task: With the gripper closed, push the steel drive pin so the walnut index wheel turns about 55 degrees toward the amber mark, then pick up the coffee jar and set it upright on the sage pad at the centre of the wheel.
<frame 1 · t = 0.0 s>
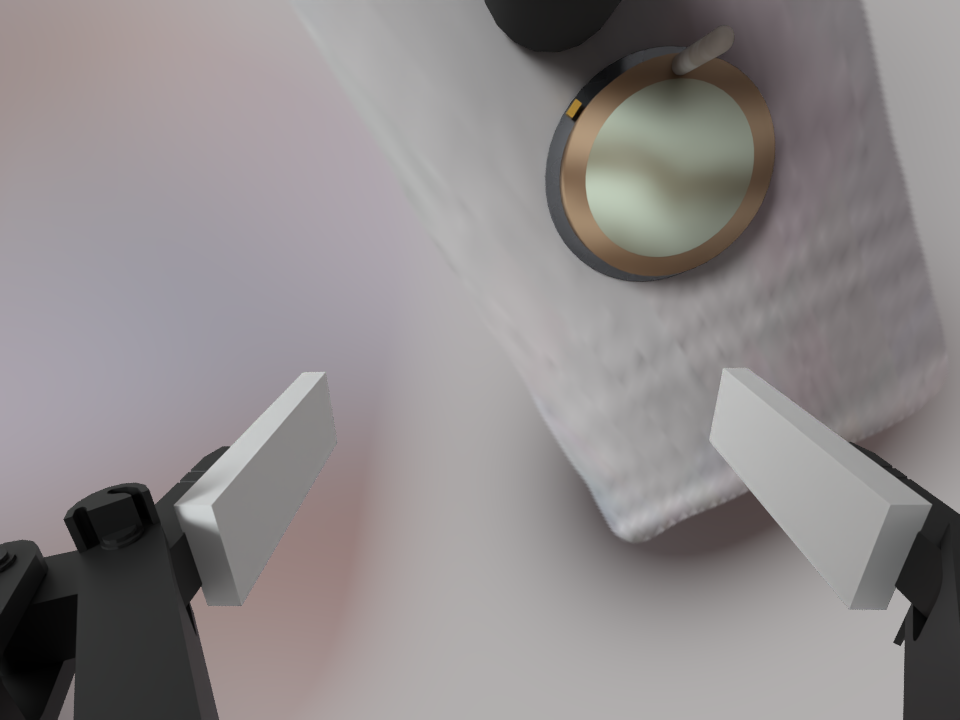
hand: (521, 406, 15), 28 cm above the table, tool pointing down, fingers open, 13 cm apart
wheel base: (652, 174, 38), on the table
index wheel: (675, 173, 33), point 5 cm above the table, hinge at 0.0°
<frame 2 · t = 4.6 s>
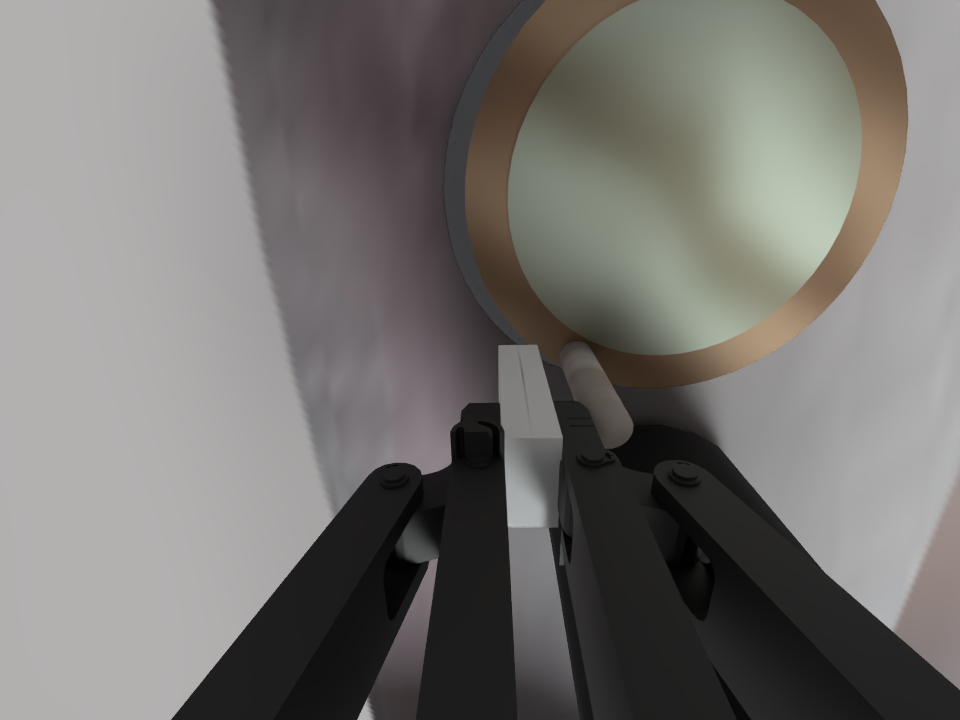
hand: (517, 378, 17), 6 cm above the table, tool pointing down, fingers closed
coffee jar: (635, 492, 26), on the table
wheel base: (645, 192, 20), on the table
index wheel: (694, 197, 15), point 5 cm above the table, hinge at 0.0°, touching gripper
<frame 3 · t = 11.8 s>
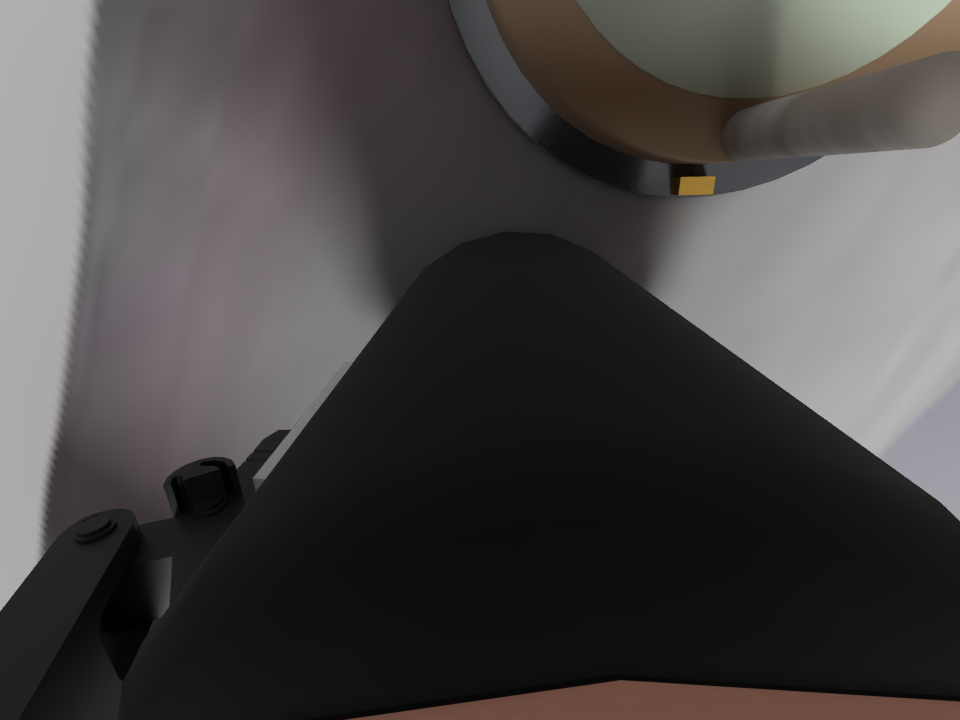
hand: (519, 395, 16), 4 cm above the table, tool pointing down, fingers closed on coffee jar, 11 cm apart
coffee jar: (514, 352, 20), on the table, touching gripper
when the fingers open (9 cm above the table, at t = 17.8 s): coffee jar drops 1 cm, resting on index wheel.
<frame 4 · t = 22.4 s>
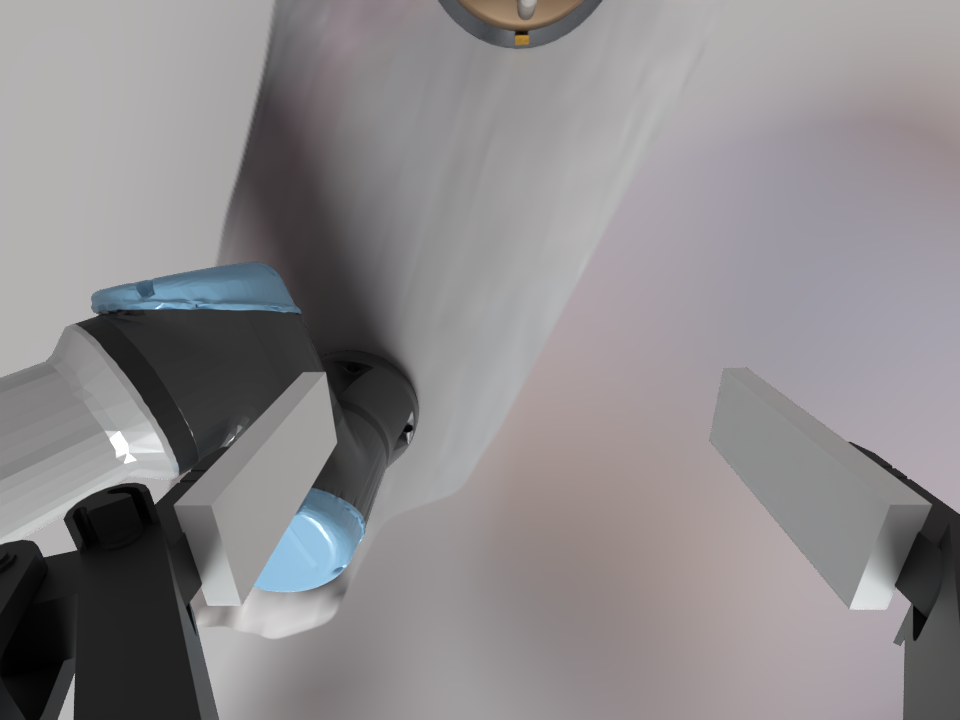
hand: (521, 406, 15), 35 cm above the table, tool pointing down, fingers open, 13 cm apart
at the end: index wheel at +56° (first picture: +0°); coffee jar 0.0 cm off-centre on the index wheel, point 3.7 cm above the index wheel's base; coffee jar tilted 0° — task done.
